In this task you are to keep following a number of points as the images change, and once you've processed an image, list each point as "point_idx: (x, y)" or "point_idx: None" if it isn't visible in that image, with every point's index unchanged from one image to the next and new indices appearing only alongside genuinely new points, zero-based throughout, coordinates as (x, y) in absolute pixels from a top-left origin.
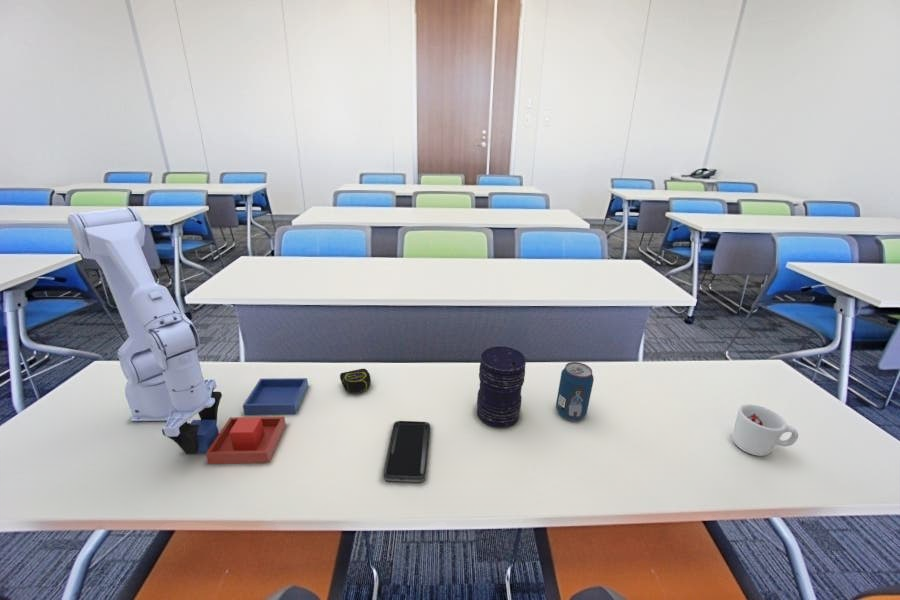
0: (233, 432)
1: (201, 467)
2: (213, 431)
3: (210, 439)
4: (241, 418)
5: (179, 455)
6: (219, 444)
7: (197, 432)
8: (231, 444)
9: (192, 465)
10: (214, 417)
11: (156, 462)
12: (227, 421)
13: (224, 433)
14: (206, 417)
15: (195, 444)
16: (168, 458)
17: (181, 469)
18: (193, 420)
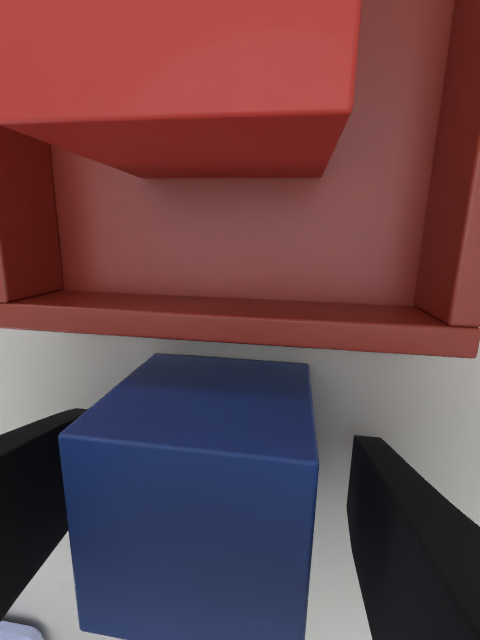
0: (352, 31)
1: (454, 359)
2: (176, 398)
3: (251, 390)
4: (12, 63)
5: (315, 527)
6: (279, 305)
7: (468, 611)
8: (253, 224)
9: (422, 424)
10: (19, 454)
11: (361, 619)
12: (39, 328)
13: (171, 305)
14: (28, 523)
15: (446, 500)
16: (335, 573)
17: (449, 476)
18: (87, 625)
